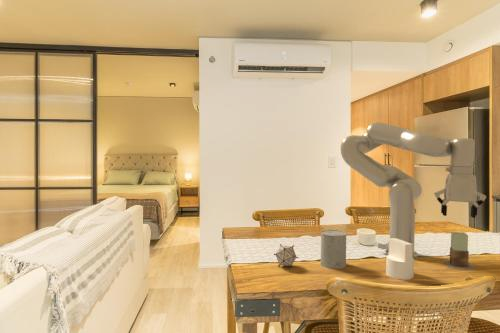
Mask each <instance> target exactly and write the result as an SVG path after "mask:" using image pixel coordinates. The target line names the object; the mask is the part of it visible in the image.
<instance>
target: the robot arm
mask: <svg viewBox="0 0 500 333" xmlns="http://www.w3.org/2000/svg"><path fill="white" fill-rule="evenodd" d="M382 145H385V146H386V145H387V146H390V147H394V148H398V149H401V150H405V151H410V152H413V153H416V154H417V153H418V154H419V155H420V154H421V155H423V156H424V155H425V156H428V157H432V158H433V157H434V158H444V157H450V160H449V161H450V163H449V167H445V171H446V172H449V173H448V174H447V176H446V180H445V185H444V189H441V190H438V191H436V192H434V196H435V199H436V200H437V202H439V203H440V205H441V209H440V213H441V214H442V215H443V216H444V217H446V216H447V213H448V205H447V204H448V203H449V202H457V203H459V202H460V203H461V202H462V203H470V204H471V206H470V217H471V218H473V219H476V216H478V208H479V206H481V205H482V204H484V202H485V200H486V199H487V195H485V194H483V193H481V192H479V191H478V187H477V186H478V185H477V178H476V176H477V175H474V164H475V163H474V160H475V147H476V146H475V145H476V142H475V140H474V139H473V138H470V137H469V138H466V137H460V138H459V137H458V138H449V137H448V138H447V137H441V136H439V137H438V136H435V135H429V134H424V133H421V132H416V131H413V130H411V129H409V128H407V127H401V126H396V125H393V124H389V123H384V122H380V121H379V122H372V123H371V124H370V125H368V127H367V128H366V133H364V134H362V135H354V134H353V135H349V136H346V137H345V138H344V139H343V140H342V141H341V144H340V155H341V157H342V159H343V160H344V162H345V164H347V165H348V166H349V167H350V168H351V169H353V170H354V171H355V172H356V173H358V174H360V175H361V176H362V177H363V178H365V179H366V180H368V181H369V182H371V183H372V184H373V185H375V186H376V187H379V188H386V187H387V188H389V190H388V199H389V207H390V208H389V212H390V213H389V214H390V215H389V239H390V238H397V239H400V240H403V241H406V242H408V243H411V244H413V253H412V258H413V259H414V260H415V259H418V257H419V253H418V252H416V251H415V237H416V236H415V235H416V234H415V231H416V230H415V229H416V227H415V226H416V208H415V207H416V206H415V200H417V199H418V198H420V197H421V195H422V191H423V190H422V188H423V187H422V186H421V183H419V181H418V180H416V179H415V178H414V177H412V176H411V175H409V174H408V173H406V172H405V171H403V170H401V169H399V168H397V167H396V166H395V165H391V164H382V163H380V162H378V161H376V160H375V159H374V158H372V157H371V156H368V155H367V154H368V153H369V152H372V151H374V150H375V149H378V147H381V146H382ZM441 195H443V197H444V198H443V199H442V197H441ZM477 197H479V199H478V198H477ZM477 199H478V200H477ZM377 249H381V250H385V252H384V253H385V254H386V256H388V255H389V241H388V242H387V243H384V244H383V243H377Z"/></svg>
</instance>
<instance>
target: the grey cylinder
mask: <svg viewBox="0 0 500 333" xmlns="http://www.w3.org/2000/svg"><path fill="white" fill-rule="evenodd" d="M347 234H348V233H347V232H345V231H343V230H335V229H327V230H326V229H325V230H322V231H320V266H322V267H323V268H326V269H332V270H340V269H344V268H346V267H347V264H346V263H347Z"/></svg>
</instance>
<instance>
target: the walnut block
mask: <svg viewBox="0 0 500 333" xmlns="http://www.w3.org/2000/svg"><path fill="white" fill-rule="evenodd" d="M469 254H470V252H469V251H456V250H453V249H452V248H451V246H450V247H449V261H450V263H451V264H452V266H456V267H468V263H469V258H470V257H469Z"/></svg>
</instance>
